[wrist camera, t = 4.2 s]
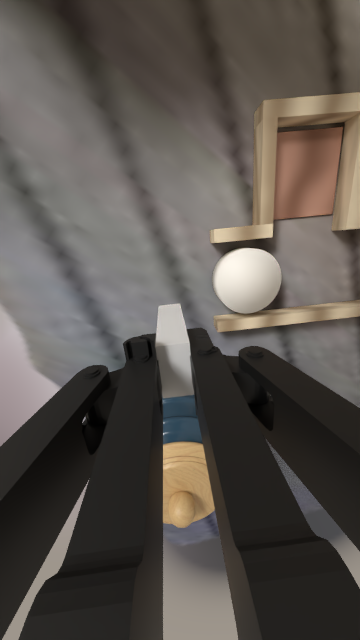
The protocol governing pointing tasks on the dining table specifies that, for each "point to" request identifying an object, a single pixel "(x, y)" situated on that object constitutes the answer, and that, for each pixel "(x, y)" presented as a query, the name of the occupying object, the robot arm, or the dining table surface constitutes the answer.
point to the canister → (184, 464)
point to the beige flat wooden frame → (301, 187)
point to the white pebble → (246, 279)
